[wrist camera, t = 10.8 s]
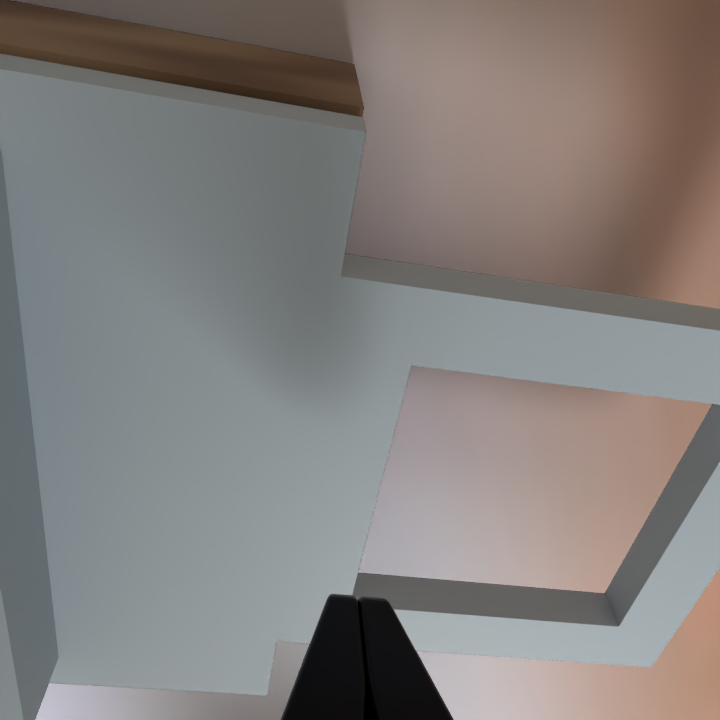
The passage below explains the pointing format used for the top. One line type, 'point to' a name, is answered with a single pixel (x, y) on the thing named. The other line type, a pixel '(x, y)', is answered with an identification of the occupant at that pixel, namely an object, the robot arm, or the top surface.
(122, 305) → the lid
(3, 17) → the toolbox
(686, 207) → the top surface
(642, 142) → the top surface
